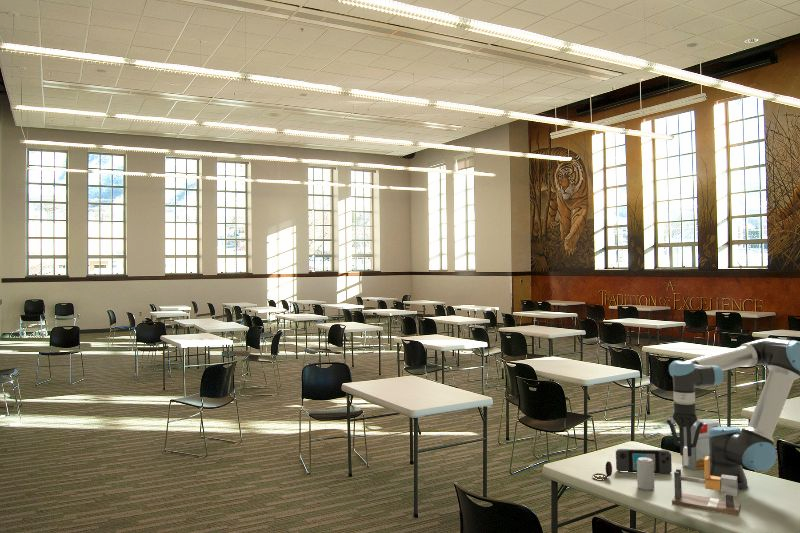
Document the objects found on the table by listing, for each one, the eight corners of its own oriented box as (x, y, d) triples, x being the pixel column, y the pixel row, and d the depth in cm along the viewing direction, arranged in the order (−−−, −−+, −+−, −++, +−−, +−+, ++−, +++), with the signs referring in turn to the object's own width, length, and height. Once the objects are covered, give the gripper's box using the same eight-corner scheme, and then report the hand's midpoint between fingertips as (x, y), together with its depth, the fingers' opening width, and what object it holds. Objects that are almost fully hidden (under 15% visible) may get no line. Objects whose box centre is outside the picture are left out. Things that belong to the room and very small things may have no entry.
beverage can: (637, 490, 244) (636, 460, 244) (637, 485, 250) (636, 456, 250) (654, 491, 241) (653, 461, 242) (654, 486, 248) (653, 457, 248)
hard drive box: (696, 471, 265) (694, 425, 266) (681, 466, 272) (680, 422, 273) (720, 465, 272) (719, 421, 272) (706, 461, 279) (704, 418, 279)
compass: (590, 476, 262) (589, 459, 262) (608, 476, 262) (608, 459, 262) (596, 482, 254) (595, 465, 254) (614, 482, 254) (614, 465, 254)
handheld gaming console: (617, 473, 266) (616, 450, 266) (616, 471, 268) (615, 448, 269) (672, 474, 262) (671, 451, 262) (670, 472, 264) (669, 449, 264)
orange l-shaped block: (706, 485, 228) (705, 455, 228) (721, 487, 225) (720, 457, 226) (705, 489, 224) (704, 459, 224) (720, 491, 221) (719, 461, 221)
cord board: (676, 496, 236) (675, 465, 237) (740, 506, 224) (739, 474, 224) (671, 504, 228) (670, 472, 228) (738, 516, 216) (737, 482, 216)
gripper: (664, 402, 231) (666, 464, 230) (702, 406, 224) (703, 469, 223) (667, 399, 237) (669, 459, 236) (704, 402, 230) (706, 464, 229)
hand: (686, 464), depth 230 cm, fingers closed
